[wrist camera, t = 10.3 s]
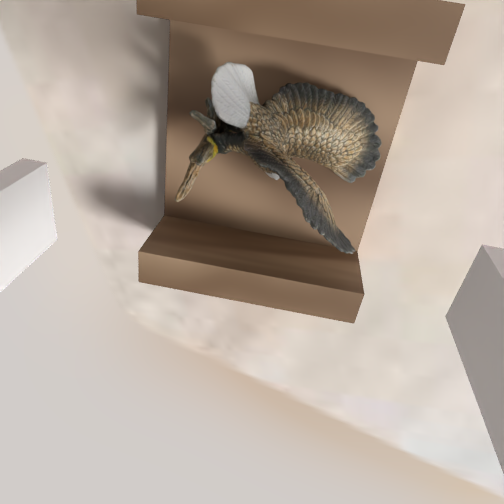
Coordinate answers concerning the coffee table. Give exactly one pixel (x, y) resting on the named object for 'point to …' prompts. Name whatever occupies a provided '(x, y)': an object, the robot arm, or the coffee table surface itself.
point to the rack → (274, 191)
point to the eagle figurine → (287, 139)
